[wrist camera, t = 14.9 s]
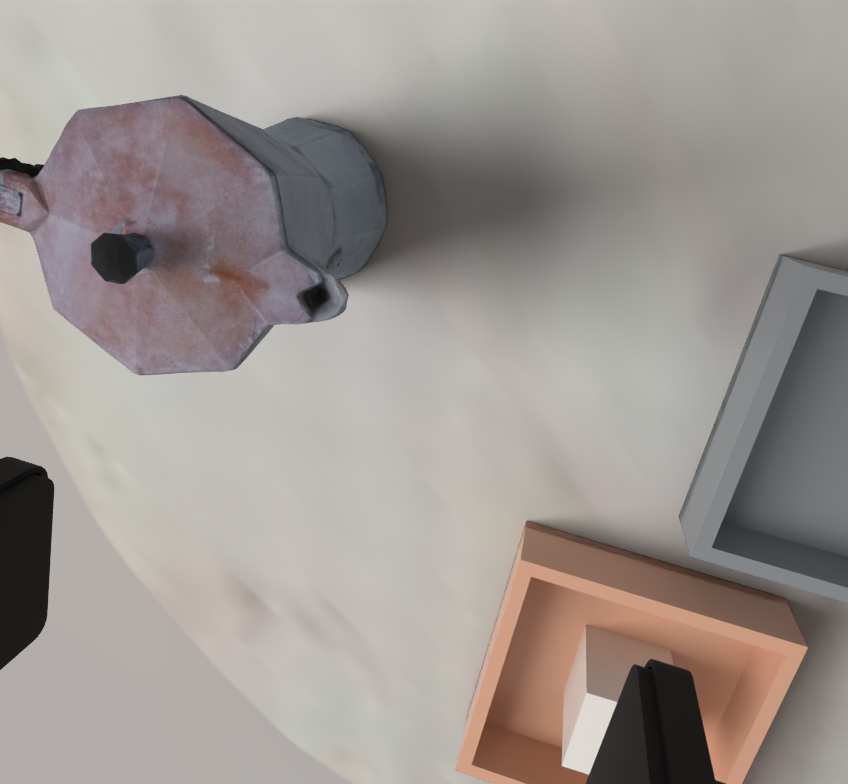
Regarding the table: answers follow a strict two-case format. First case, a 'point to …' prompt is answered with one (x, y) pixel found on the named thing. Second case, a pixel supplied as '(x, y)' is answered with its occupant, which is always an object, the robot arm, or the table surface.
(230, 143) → the moka pot
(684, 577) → the bin
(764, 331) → the bin
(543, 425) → the table surface
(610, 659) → the stone block
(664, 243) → the table surface
